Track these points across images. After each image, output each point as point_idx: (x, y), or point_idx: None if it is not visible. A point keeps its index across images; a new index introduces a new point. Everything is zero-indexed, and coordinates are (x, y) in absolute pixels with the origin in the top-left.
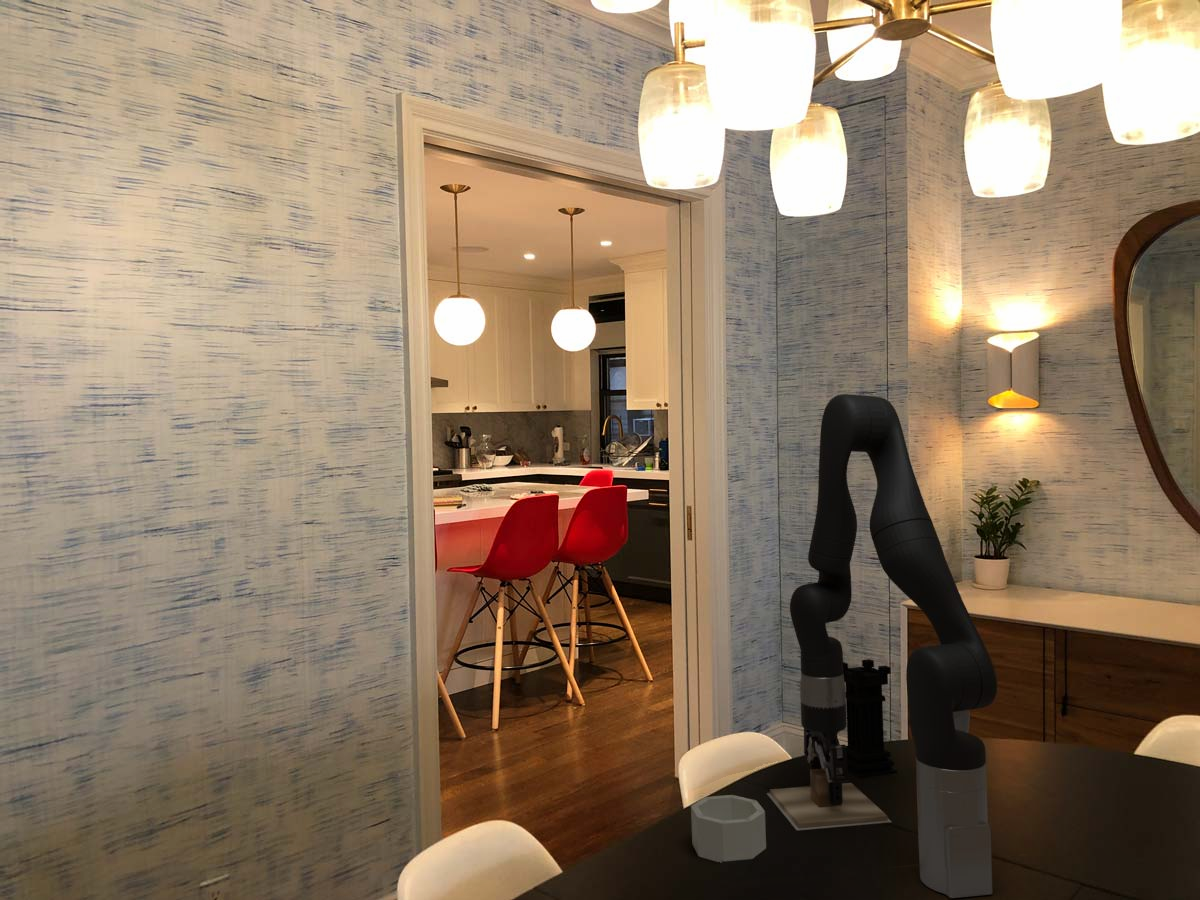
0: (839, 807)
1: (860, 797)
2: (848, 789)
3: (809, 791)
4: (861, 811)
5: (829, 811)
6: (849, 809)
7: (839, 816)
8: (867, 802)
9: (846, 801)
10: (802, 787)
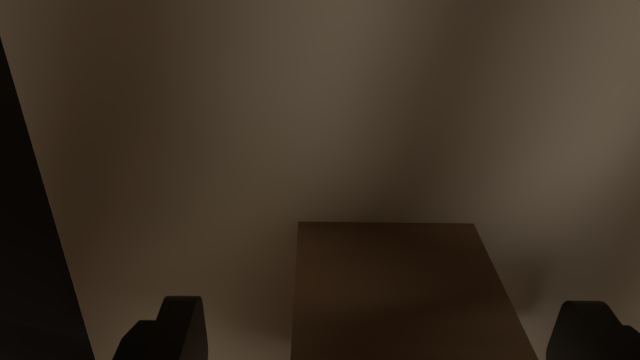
0: (493, 247)
1: (367, 25)
2: (158, 51)
3: None
4: (632, 139)
5: (524, 317)
6: (556, 203)
7: (624, 295)
8: (491, 11)
9: (411, 168)
10: (98, 333)
